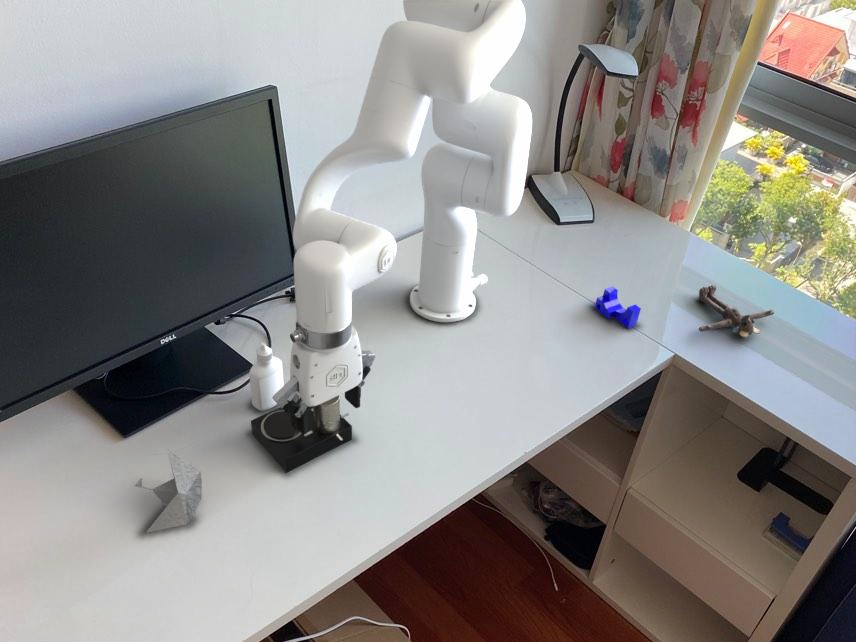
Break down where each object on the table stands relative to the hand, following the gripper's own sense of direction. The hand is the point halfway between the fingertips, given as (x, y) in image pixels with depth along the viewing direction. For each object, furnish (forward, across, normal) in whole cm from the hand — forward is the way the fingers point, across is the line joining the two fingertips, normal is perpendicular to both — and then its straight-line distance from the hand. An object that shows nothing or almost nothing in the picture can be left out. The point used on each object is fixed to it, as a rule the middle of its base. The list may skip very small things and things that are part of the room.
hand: (326, 415), depth 123 cm
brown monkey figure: (+5, +81, -19) cm, 83 cm away
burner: (+2, -6, +4) cm, 7 cm away
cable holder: (+5, +63, -6) cm, 63 cm away
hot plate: (+5, -3, +2) cm, 6 cm away
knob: (+2, 0, 0) cm, 2 cm away
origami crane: (+5, -25, +2) cm, 26 cm away
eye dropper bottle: (+5, -3, +12) cm, 14 cm away
